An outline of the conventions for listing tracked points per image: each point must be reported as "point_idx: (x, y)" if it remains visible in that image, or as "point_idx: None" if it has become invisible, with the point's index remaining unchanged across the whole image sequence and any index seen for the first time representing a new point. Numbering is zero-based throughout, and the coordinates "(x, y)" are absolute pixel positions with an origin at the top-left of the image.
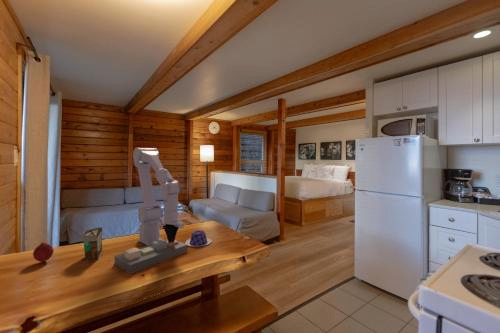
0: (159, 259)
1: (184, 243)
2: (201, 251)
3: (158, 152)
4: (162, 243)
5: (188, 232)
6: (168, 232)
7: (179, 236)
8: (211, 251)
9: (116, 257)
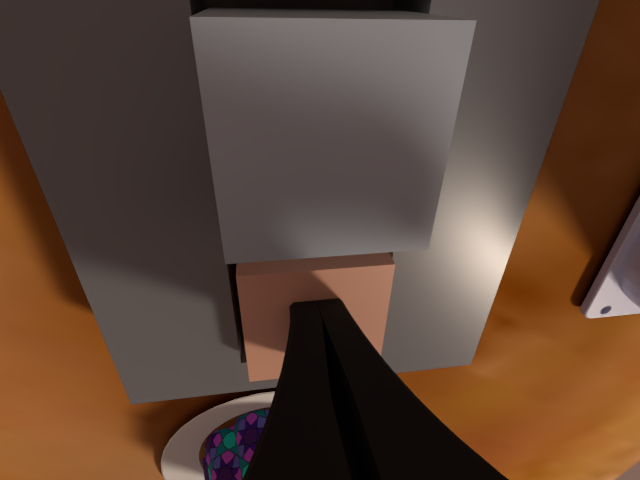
0: None
1: (195, 396)
2: (65, 406)
3: None
4: (210, 160)
5: (502, 467)
6: (302, 469)
7: (510, 413)
8: (8, 450)
9: None
